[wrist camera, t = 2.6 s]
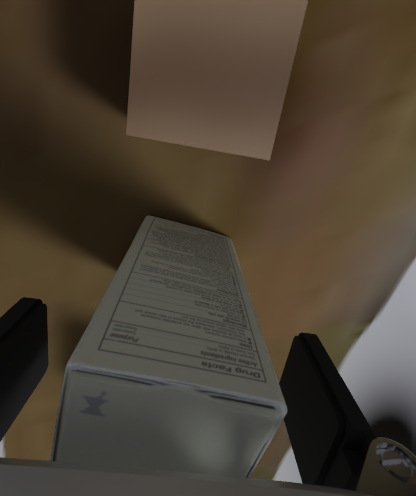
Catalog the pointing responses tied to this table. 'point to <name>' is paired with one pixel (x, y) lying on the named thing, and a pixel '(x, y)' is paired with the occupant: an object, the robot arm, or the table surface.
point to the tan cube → (212, 72)
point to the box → (171, 364)
